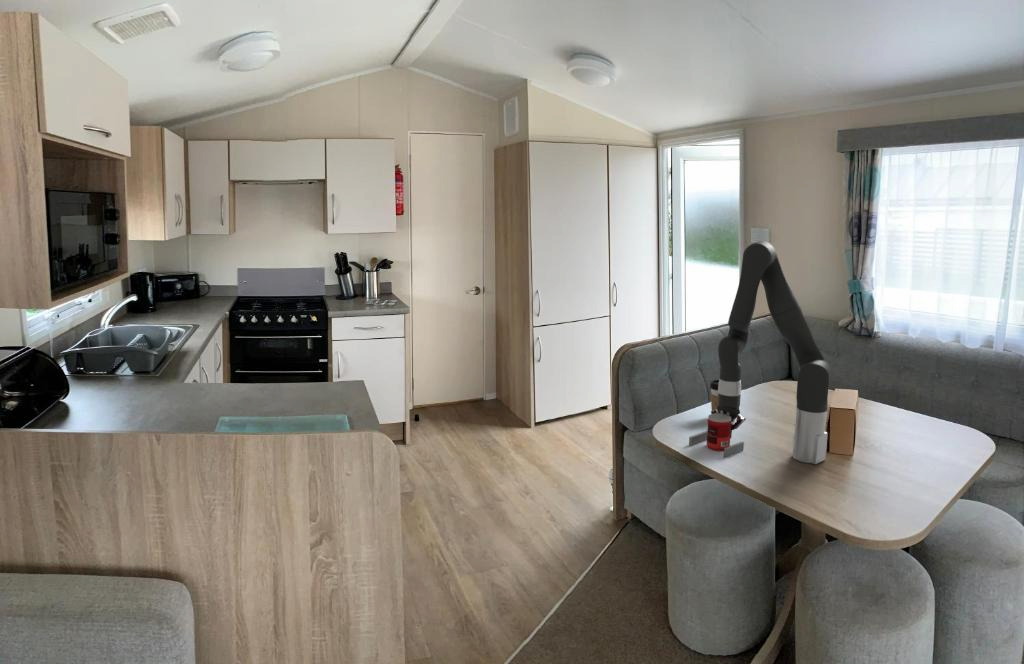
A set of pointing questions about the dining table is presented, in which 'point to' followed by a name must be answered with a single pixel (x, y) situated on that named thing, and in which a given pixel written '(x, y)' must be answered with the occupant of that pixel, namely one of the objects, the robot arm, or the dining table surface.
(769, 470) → the dining table surface
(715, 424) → the canned food
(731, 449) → the lane rails
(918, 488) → the dining table surface
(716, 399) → the coffee cup
